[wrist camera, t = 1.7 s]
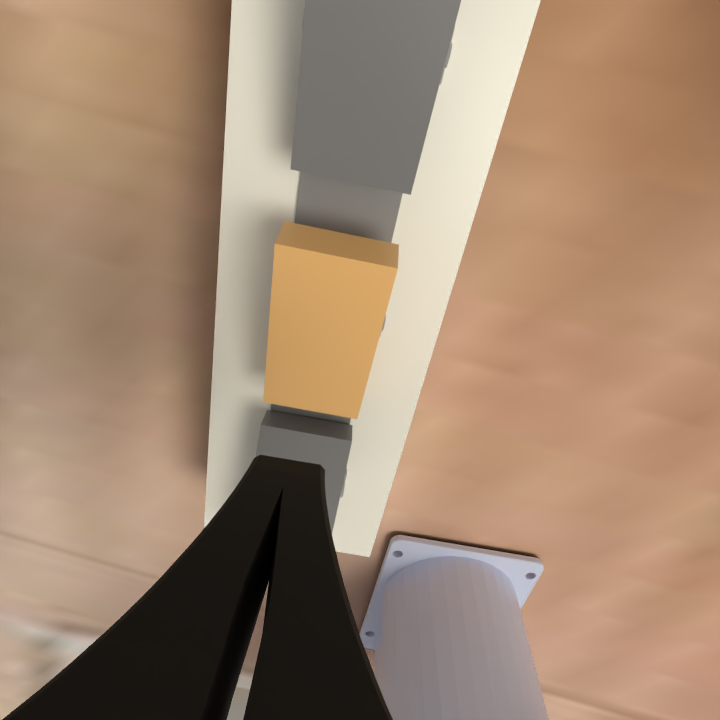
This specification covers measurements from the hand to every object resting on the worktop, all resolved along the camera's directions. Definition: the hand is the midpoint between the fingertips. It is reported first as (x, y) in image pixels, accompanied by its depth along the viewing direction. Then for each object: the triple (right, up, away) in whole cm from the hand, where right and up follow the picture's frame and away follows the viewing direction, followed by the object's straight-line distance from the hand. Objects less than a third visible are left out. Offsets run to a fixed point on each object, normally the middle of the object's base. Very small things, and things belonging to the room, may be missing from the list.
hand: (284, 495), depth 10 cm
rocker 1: (-1, -2, +8) cm, 8 cm away
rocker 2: (+2, +10, +1) cm, 10 cm away
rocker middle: (+1, +4, +5) cm, 6 cm away
